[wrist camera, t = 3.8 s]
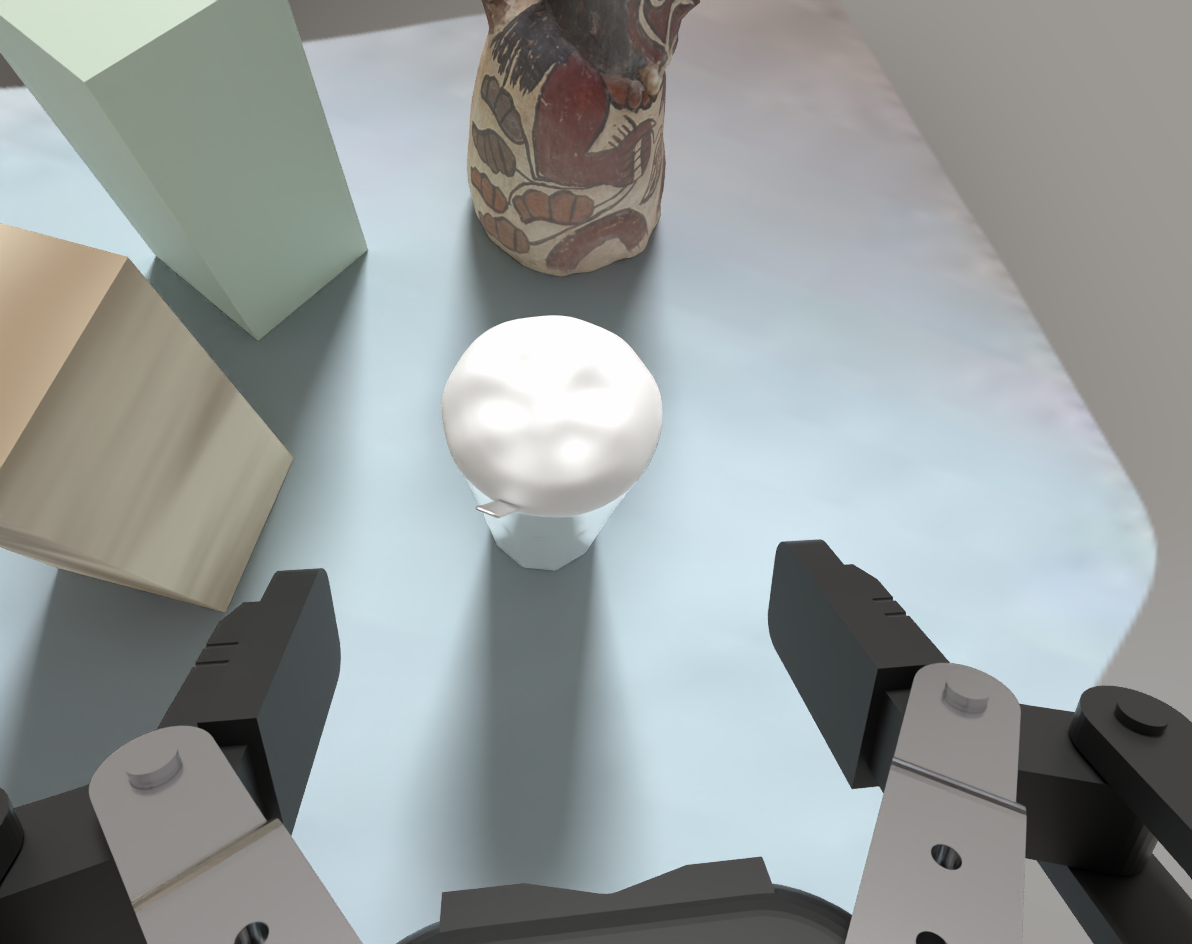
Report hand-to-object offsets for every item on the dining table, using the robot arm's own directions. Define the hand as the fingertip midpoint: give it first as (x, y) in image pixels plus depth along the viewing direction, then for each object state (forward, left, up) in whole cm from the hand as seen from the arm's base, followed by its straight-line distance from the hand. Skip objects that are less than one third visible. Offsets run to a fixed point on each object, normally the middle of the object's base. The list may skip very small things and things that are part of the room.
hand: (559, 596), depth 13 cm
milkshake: (-2, +3, -9) cm, 10 cm away
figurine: (-6, +15, -9) cm, 19 cm away
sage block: (-15, +8, -9) cm, 19 cm away
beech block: (-12, -1, -9) cm, 15 cm away
